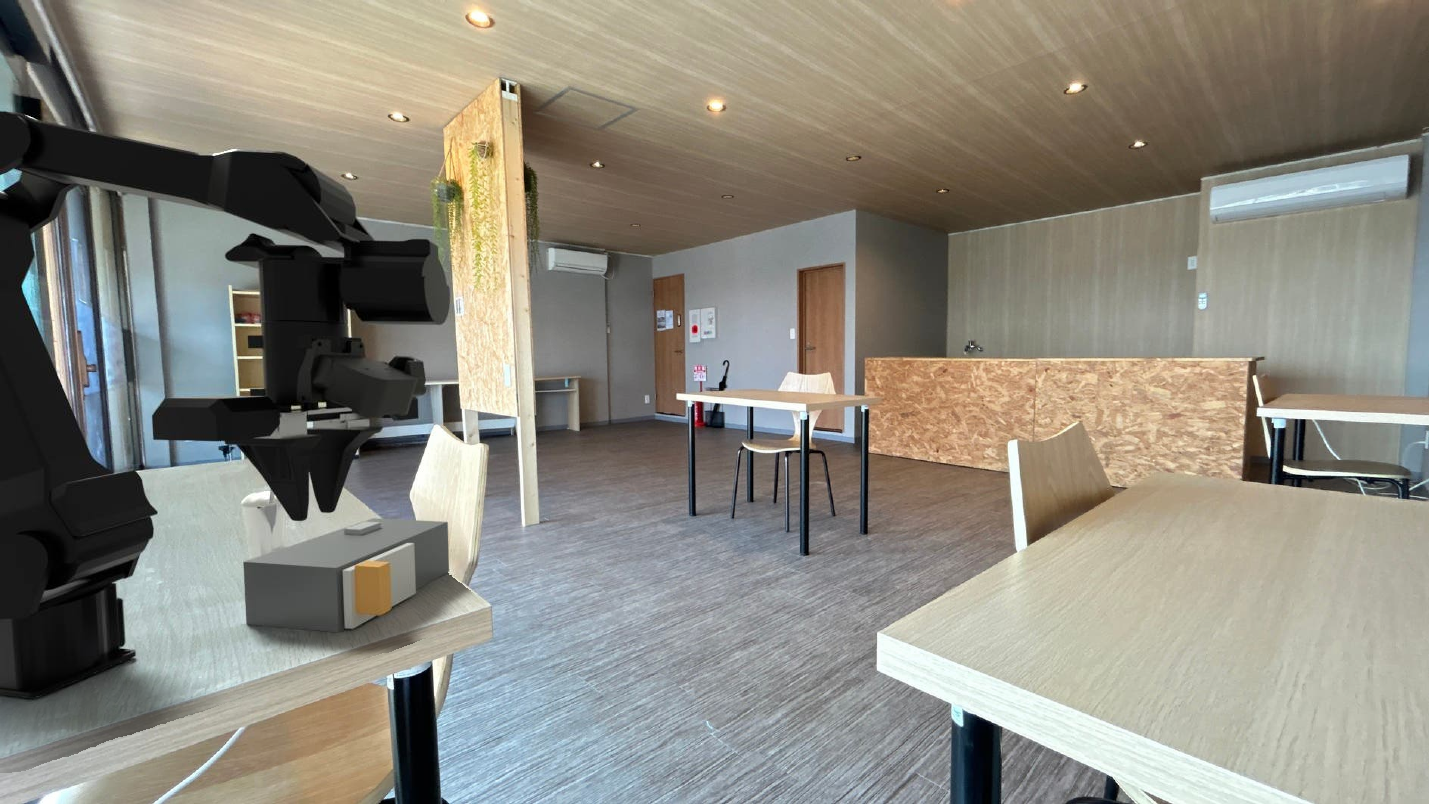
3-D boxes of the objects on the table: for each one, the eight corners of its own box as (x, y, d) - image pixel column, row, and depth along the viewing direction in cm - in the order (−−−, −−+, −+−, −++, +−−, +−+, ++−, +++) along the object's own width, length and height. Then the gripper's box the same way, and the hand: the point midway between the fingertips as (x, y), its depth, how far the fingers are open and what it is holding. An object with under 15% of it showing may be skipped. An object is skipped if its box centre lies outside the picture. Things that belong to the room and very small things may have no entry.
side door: (376, 630, 52) (374, 569, 51) (344, 628, 52) (342, 567, 52) (436, 594, 60) (435, 541, 60) (409, 592, 60) (407, 540, 60)
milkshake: (252, 576, 66) (248, 491, 66) (239, 566, 70) (235, 485, 69) (298, 565, 70) (295, 485, 69) (284, 557, 73) (280, 480, 73)
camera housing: (339, 632, 52) (336, 561, 52) (246, 624, 54) (243, 555, 53) (456, 568, 69) (454, 514, 69) (382, 563, 71) (380, 510, 70)
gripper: (285, 310, 35) (295, 559, 36) (467, 331, 53) (471, 495, 54) (139, 313, 37) (152, 549, 38) (363, 332, 55) (368, 491, 56)
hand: (313, 516), depth 46 cm, fingers closed
